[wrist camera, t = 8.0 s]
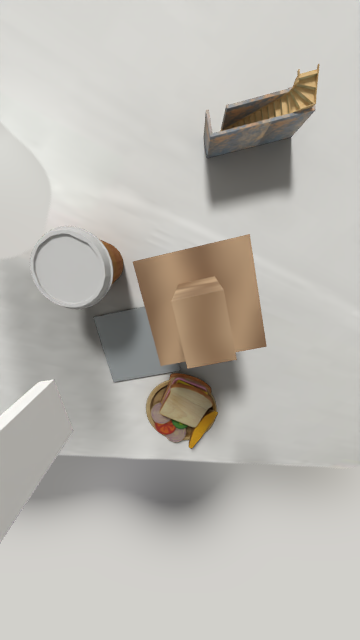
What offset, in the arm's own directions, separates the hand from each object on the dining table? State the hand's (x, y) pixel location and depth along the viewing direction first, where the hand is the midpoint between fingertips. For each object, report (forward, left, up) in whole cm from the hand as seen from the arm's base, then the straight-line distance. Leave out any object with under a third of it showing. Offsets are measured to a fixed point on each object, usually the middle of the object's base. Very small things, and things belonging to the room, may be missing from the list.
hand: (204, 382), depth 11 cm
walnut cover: (0, 0, -16) cm, 16 cm away
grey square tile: (-12, -8, -31) cm, 34 cm away
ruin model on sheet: (+10, +18, -31) cm, 38 cm away
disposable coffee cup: (-14, +6, -31) cm, 34 cm away
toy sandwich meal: (-7, -21, -31) cm, 38 cm away
